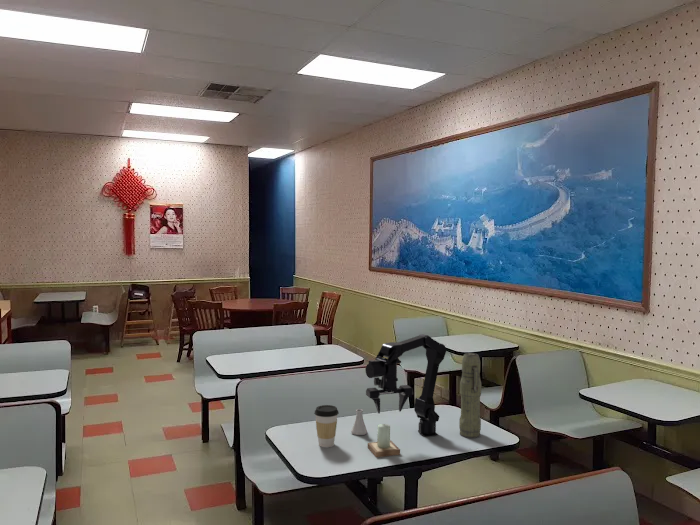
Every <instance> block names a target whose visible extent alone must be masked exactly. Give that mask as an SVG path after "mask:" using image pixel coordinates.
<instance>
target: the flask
mask: <svg viewBox="0 0 700 525" xmlns="http://www.w3.org/2000/svg"><path fill="white" fill-rule="evenodd" d="M355 412H356V415H355V419H354V423H353V426H352V429H351V430H350V432H351V433H350V434H352V435H354V436H364V435H367V434H368V430H367V427H366V424H365V419H364V418H363V416H364V415H363V412H364V410H363V409H361V408H357V409H355Z"/></svg>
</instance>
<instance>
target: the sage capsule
mask: <svg viewBox="0 0 700 525" xmlns="http://www.w3.org/2000/svg"><path fill="white" fill-rule="evenodd" d="M376 432H377V434H376V435H377V440H376V442H377V446H378V447H379V448H389V447H390V440H391V425H390V424H386V423H380V424H378V425H377V431H376Z"/></svg>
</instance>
